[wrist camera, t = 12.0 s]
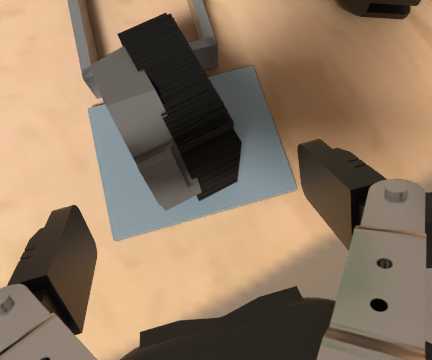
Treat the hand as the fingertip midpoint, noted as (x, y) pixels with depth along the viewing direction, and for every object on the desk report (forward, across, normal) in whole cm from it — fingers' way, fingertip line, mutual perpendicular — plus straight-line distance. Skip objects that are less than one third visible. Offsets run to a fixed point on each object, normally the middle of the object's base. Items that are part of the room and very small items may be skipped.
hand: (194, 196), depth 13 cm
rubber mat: (+15, 0, +5) cm, 16 cm away
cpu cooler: (+15, 0, +4) cm, 15 cm away
